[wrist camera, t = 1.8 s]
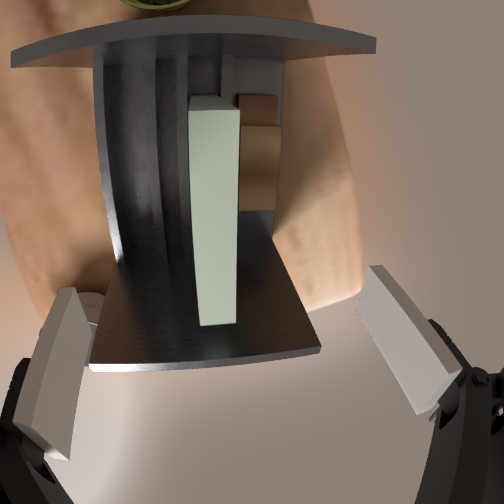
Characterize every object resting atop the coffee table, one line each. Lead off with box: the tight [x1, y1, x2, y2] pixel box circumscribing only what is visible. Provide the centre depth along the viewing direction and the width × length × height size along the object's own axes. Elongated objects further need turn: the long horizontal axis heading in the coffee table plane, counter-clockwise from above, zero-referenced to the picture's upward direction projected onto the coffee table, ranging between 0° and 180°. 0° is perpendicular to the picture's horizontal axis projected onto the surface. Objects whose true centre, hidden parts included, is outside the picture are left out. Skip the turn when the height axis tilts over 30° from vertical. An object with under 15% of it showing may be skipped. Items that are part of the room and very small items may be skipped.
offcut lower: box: [236, 94, 278, 124], centre depth 32 cm, size 12×4×2 cm, turn 178°
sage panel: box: [188, 94, 240, 326], centre depth 25 cm, size 14×2×18 cm, turn 178°
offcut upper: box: [237, 123, 282, 211], centre depth 31 cm, size 9×4×2 cm, turn 178°
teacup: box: [39, 292, 105, 368], centre depth 39 cm, size 14×11×8 cm
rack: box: [11, 15, 376, 371], centre depth 25 cm, size 24×20×20 cm
